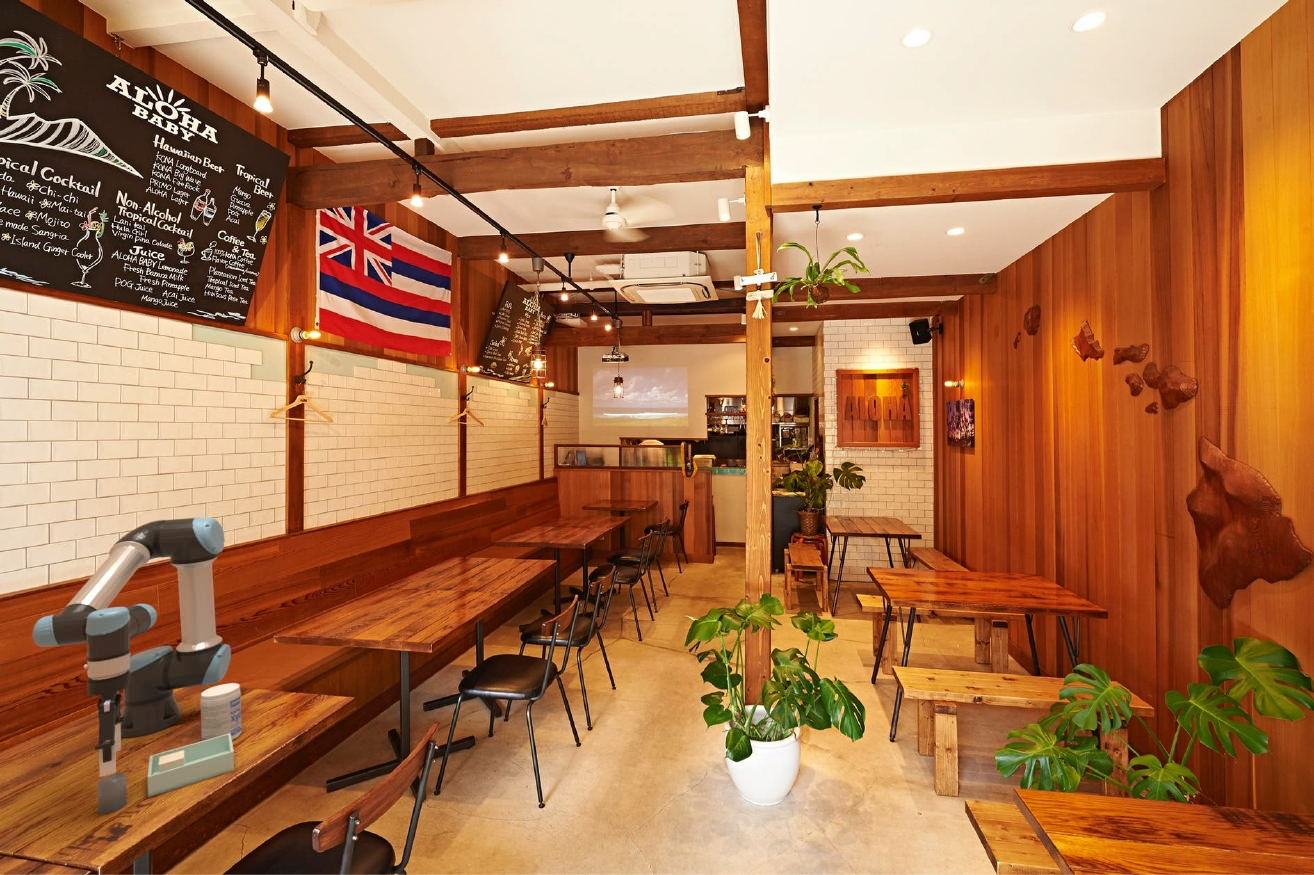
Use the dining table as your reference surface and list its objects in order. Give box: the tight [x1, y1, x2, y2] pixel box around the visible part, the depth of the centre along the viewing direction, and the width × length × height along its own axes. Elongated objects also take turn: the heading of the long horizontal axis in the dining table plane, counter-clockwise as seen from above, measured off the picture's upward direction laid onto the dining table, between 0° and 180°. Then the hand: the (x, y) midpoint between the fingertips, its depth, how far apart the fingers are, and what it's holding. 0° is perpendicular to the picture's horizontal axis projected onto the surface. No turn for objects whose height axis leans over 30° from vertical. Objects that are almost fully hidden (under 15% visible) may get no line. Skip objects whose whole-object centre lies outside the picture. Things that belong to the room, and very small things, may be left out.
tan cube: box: [159, 750, 185, 773], centre depth 149 cm, size 5×5×5 cm
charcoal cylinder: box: [97, 772, 128, 816], centre depth 138 cm, size 5×5×7 cm
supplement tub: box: [200, 682, 243, 741], centre depth 169 cm, size 10×10×15 cm
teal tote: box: [147, 733, 235, 798], centre depth 152 cm, size 13×17×5 cm
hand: (110, 762), depth 137 cm, fingers open, 13 cm apart
